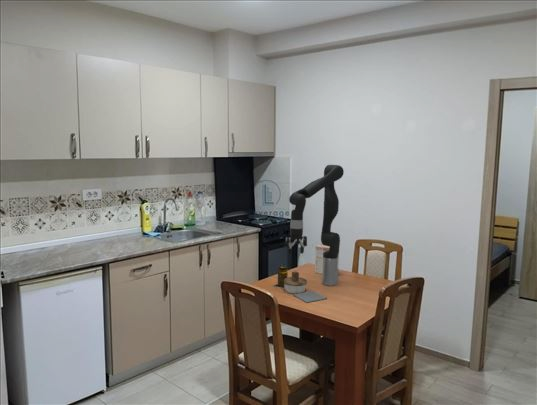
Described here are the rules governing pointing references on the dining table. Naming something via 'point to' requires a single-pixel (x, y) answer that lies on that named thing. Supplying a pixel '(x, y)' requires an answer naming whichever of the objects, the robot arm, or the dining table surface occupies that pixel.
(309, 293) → the mat
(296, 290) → the bowl
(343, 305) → the dining table surface
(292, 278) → the lid
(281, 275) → the condiment
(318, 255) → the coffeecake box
